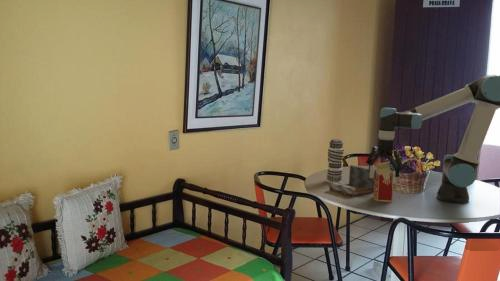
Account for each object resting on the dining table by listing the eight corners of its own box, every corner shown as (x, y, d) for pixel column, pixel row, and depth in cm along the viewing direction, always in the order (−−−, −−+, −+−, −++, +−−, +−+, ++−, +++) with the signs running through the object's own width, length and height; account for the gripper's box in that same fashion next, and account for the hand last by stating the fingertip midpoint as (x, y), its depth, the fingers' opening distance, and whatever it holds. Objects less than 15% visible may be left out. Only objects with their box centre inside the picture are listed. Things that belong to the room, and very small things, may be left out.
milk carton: (389, 197, 224) (391, 159, 221) (393, 202, 214) (396, 162, 212) (371, 196, 224) (373, 158, 222) (374, 201, 215) (377, 162, 213)
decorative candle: (342, 184, 250) (344, 141, 246) (326, 182, 252) (328, 140, 248) (342, 180, 259) (344, 139, 255) (326, 179, 260) (328, 138, 257)
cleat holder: (374, 191, 234) (376, 170, 232) (352, 197, 222) (354, 174, 220) (351, 185, 246) (352, 165, 244) (328, 190, 234) (330, 168, 233)
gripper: (413, 141, 208) (409, 184, 211) (369, 135, 227) (366, 174, 230) (404, 142, 203) (400, 186, 206) (360, 136, 222) (358, 176, 225)
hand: (382, 180), depth 218 cm, fingers open, 13 cm apart
